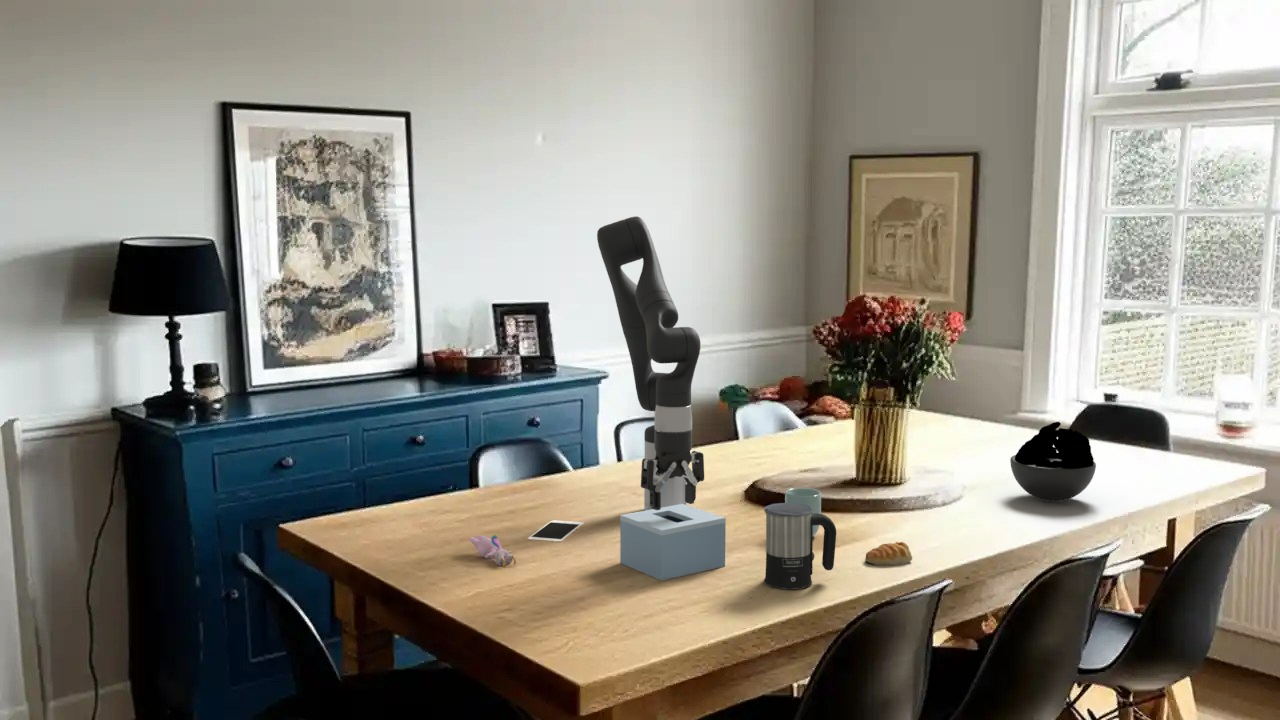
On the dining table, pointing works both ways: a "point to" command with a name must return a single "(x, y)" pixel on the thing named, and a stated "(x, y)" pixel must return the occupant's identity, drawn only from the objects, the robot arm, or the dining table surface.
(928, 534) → the dining table surface
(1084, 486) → the bowl of black rocks
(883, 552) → the pastry
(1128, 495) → the dining table surface
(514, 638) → the dining table surface
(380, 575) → the dining table surface
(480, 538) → the rabbit figure
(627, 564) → the box
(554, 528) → the cell phone
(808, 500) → the cup
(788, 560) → the milk frother
